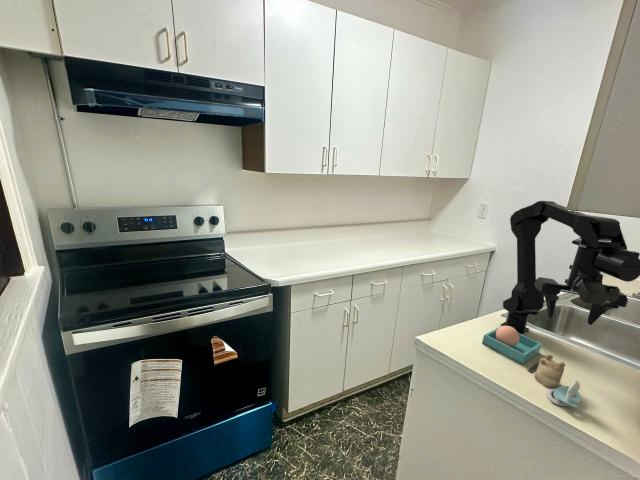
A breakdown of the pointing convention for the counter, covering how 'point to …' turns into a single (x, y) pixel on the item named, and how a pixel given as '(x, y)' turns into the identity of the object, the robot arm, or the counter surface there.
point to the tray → (518, 352)
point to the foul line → (535, 367)
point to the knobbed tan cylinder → (549, 372)
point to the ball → (507, 336)
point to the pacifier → (566, 395)
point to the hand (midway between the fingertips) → (569, 320)
